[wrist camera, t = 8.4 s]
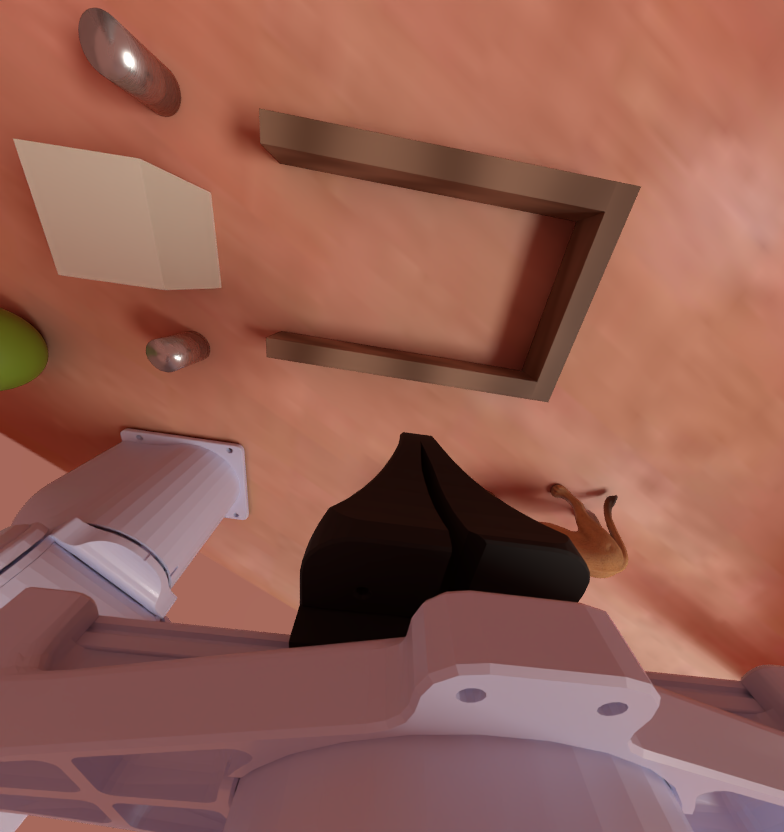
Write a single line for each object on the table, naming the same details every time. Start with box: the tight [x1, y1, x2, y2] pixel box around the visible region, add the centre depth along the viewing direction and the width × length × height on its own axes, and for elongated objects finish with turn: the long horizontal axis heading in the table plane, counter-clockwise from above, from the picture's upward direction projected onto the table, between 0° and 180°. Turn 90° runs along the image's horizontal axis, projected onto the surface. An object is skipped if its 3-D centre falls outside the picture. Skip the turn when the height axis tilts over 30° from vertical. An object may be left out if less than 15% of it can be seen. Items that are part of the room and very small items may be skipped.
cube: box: [13, 138, 222, 290], centre depth 15 cm, size 5×5×5 cm
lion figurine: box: [488, 485, 628, 578], centre depth 21 cm, size 15×5×9 cm, turn 104°
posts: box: [78, 8, 210, 372], centre depth 16 cm, size 2×15×3 cm, turn 171°
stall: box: [259, 108, 641, 402], centre depth 17 cm, size 18×11×2 cm, turn 81°
